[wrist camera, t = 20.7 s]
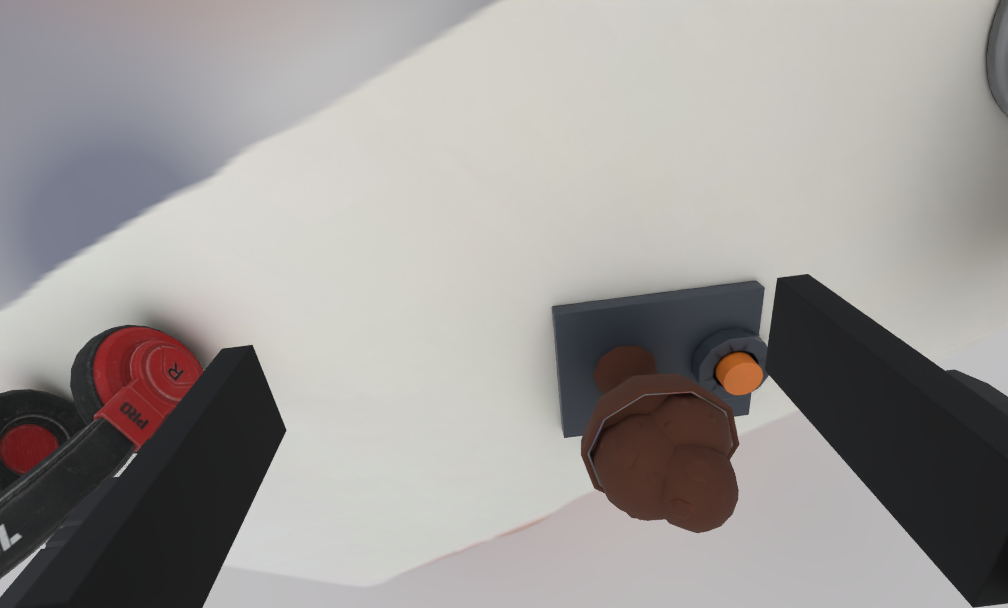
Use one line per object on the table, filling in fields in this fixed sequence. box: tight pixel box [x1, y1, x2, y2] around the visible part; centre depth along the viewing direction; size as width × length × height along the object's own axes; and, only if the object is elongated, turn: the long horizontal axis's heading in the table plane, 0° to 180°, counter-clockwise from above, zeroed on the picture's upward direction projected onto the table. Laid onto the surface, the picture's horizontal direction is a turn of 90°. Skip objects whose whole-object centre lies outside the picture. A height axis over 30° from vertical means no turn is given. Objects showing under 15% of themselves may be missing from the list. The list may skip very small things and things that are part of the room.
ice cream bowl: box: [581, 346, 739, 533], centre depth 38 cm, size 11×11×15 cm
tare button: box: [715, 351, 763, 395], centre depth 43 cm, size 3×3×2 cm
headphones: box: [0, 325, 204, 579], centre depth 35 cm, size 18×10×20 cm, turn 118°
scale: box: [552, 281, 769, 438], centre depth 45 cm, size 18×13×3 cm
